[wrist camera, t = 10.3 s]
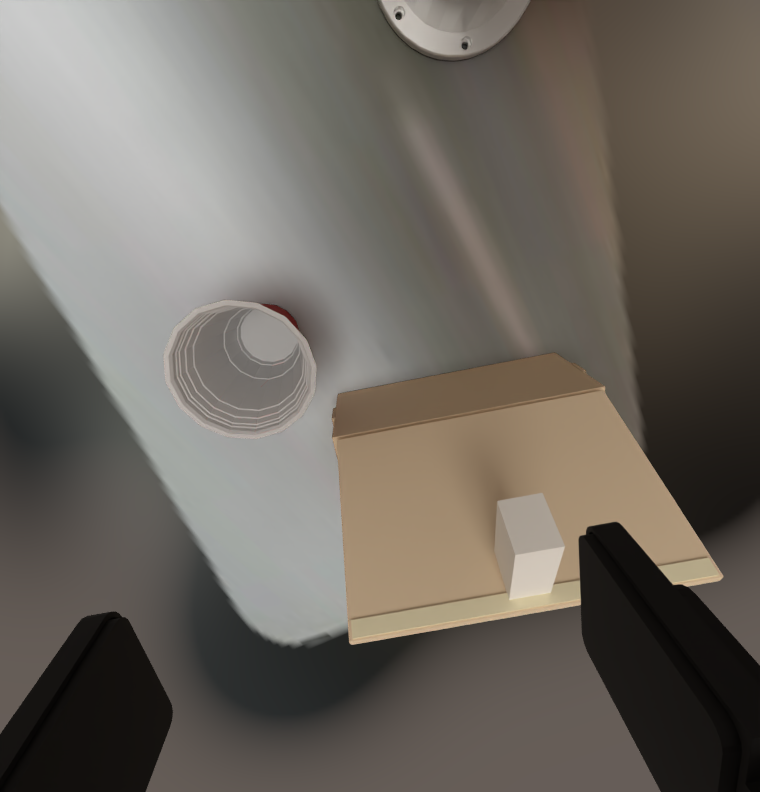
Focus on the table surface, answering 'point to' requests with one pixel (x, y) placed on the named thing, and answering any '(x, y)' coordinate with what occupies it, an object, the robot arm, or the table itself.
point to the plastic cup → (240, 368)
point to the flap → (496, 515)
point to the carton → (458, 395)
